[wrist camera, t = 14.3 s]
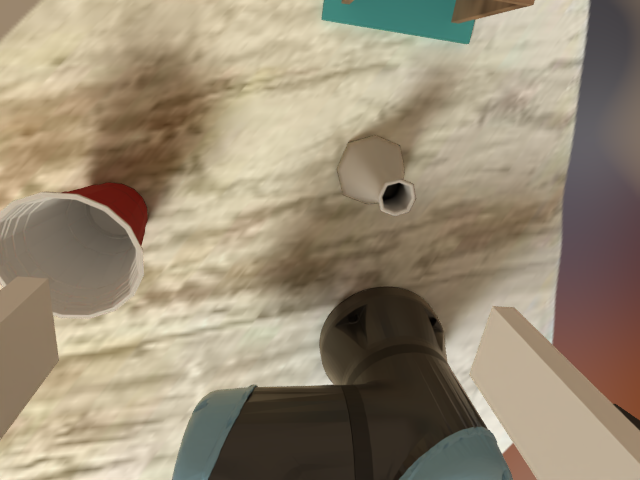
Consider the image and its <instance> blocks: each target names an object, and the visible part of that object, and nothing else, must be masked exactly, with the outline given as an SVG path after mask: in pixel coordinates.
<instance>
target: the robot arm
mask: <svg viewBox="0 0 640 480" xmlns="http://www.w3.org/2000/svg"><path fill="white" fill-rule="evenodd" d="M319 346H320V354H321V359H322V364H323V367H324V370H325V372H326V374H327V376H328V378H329V379H330V380H331V382H332V383H333V384H334V385H320V386H287V387H258V386H257V385H251V386H249V387H247V388H235V389H224V390H216V391H213V392H211V393H209V394H207V395H206V396H205V397H203V398H202V400H201V401H200V402H199V403H198V405H197V406H196V408H195V409H194V411H193V413H192V416H191V418H190V420H189V422H188V425H187V427H186V430H185V433H184V436H183V439H182V442H181V446H180V449H179V453H178V456H177V460H176V464H175V468H174V473H173V477H172V480H513V478H512V474H511V472H510V470H509V468H508V465H507V463H506V461H505V460H504V458H503V455H502V453H501V451H500V449H499V447H498V445H497V441H496V439H495V436H494V435H493V434H492V433H491V432H490V430H488V429H487V427H486V425H485V424H484V422H483V420H482V419H481V417H480V415H479V414H478V412H477V411H476V409H475V407H474V406H473V404H472V402H471V401H470V399H469V397H468V396H467V394H466V392H465V391H464V389H463V388H462V386H461V384H460V383H459V381H458V379H457V378H456V376H455V374H454V373H453V371H452V370H451V368H450V366H449V365H448V363H447V355H446V347H445V339H444V332H443V329H442V326H441V323H440V321H439V319H438V317H437V316H436V314H435V313H434V311H433V310H432V308H431V307H430V306H429V304H428V303H427V302H426V301H425V300H424V299H422V298H421V297H420V296H418V295H417V294H415V293H413V292H410V291H408V290H405V289H401V288H395V287H378V288H372V289H368V290H365V291H362V292H359V293H357V294H355V295H353V296H351V297H349V298H348V299H346V300H345V301H343V302H342V303H341V304H339V305H338V306H337V307H336V308H335V309H334V310H333V311H332V313H331V314H330V315H329V317H328V318H327V320H326V322H325V323H324V326H323V328H322V331H321V335H320V343H319ZM58 361H59V358H58V350H57V342H56V334H55V327H54V319H53V311H52V303H51V296H50V288H49V280H48V278H34V277H18V276H17V277H16V278H15V279H14V280H12V281H11V282H10V283H9V284H7V285H6V286H5V287H4V288H2V289H1V290H0V440H1V439H2V437H3V436H4V434H5V433H6V432H7V430H8V429H9V428H10V426H11V425H12V424H13V422H14V421H15V420H16V418H17V417H18V415H19V414H20V413H21V411H22V410H23V409H24V407H25V406H26V405H27V403H28V402H29V400H30V399H31V398H32V396H33V395H34V394H35V392H36V391H37V390H38V388H39V387H40V385H41V384H42V383H43V381H44V380H45V379H46V377H47V376H48V375H49V373H50V372H51V370H52V369H53V368H54V366H55V365H56V364H57V362H58ZM469 375H470V376H471V378H472V380H473V381H474V383H475V384H476V386H477V387H478V389H479V390H480V392H481V393H482V395H483V397H484V398H485V400H486V401H487V403H488V404H489V406H490V407H491V409H492V410H493V412H494V414H495V415H496V417H497V418H498V420H499V421H500V423H501V424H502V426H503V427H504V429H505V431H506V432H507V434H508V435H509V437H510V438H511V440H512V441H513V443H514V444H515V446H516V448H517V449H518V451H519V452H520V454H521V455H522V457H523V458H524V459H525V461H526V463H527V464H528V466H529V467H530V469H531V471H532V472H533V474H534V475H535V477H536V478H537V480H640V420H638V419H637V418H635V417H634V416H632V415H631V414H629V413H628V412H626V411H625V410H624V409H622V408H621V407H619V406H618V405H616V404H612V403H611V402H610V401H609V400H608V399H607V398H606V397H605V396H604V395H603V394H602V393H601V392H600V391H599V390H598V389H597V388H596V387H595V386H594V385H593V384H592V383H591V382H590V381H589V380H588V379H587V378H586V377H585V376H583V375H582V374H581V373H580V372H579V371H578V370H577V369H576V368H575V367H574V366H573V365H572V364H571V363H570V362H569V361H568V360H567V359H566V358H565V357H564V356H563V355H562V354H561V353H560V352H559V351H558V350H557V349H556V348H555V347H554V346H553V345H552V344H551V343H550V342H549V341H548V340H547V339H546V338H545V337H544V336H543V335H542V334H541V333H540V332H539V331H538V330H537V329H536V328H535V327H534V326H533V325H532V324H531V323H529V322H528V321H527V320H526V319H525V318H524V317H523V316H522V315H521V314H520V313H519V312H518V311H517V310H516V309H515V308H512V307H496V306H492V309H491V312H490V315H489V318H488V321H487V324H486V327H485V330H484V333H483V336H482V339H481V342H480V345H479V348H478V351H477V354H476V357H475V359H474V362H473V365H472V368H471V371H470V374H469Z"/></svg>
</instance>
